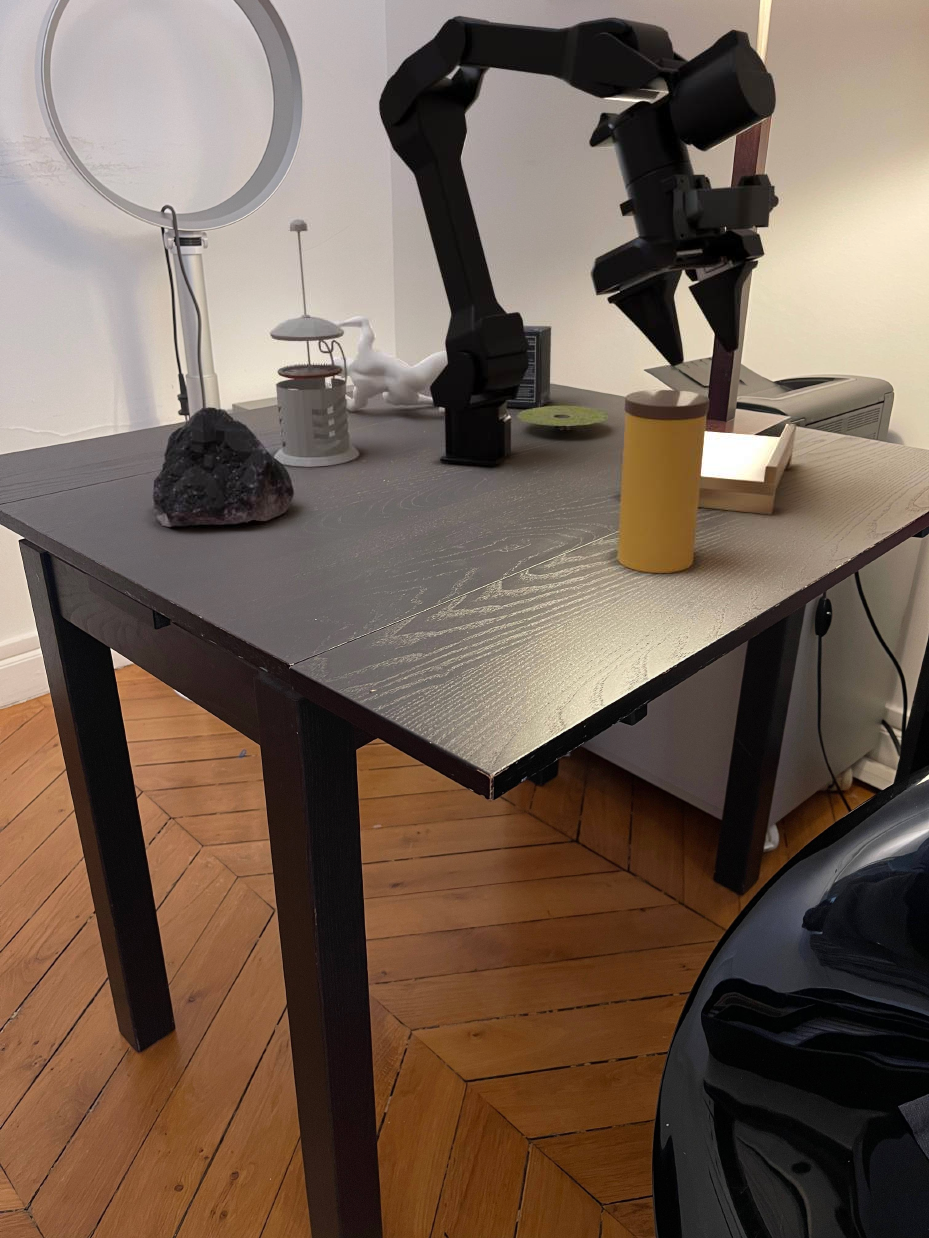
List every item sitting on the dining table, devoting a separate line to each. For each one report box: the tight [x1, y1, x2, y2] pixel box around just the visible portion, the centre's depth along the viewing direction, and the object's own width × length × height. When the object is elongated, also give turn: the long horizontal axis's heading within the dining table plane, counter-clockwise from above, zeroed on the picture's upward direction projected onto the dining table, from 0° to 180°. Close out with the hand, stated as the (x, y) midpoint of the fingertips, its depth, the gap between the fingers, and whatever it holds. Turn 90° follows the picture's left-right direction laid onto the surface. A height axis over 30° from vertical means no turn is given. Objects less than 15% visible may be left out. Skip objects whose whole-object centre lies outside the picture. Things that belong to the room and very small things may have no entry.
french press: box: [269, 218, 360, 468], centre depth 102 cm, size 10×12×25 cm
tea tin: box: [616, 389, 710, 574], centre depth 72 cm, size 6×6×13 cm
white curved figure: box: [325, 315, 448, 414], centre depth 124 cm, size 13×13×18 cm
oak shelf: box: [698, 423, 797, 515], centre depth 94 cm, size 14×18×4 cm
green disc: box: [516, 405, 609, 431], centre depth 116 cm, size 11×11×2 cm
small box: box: [506, 325, 552, 409], centre depth 130 cm, size 11×6×10 cm, turn 71°
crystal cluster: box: [152, 406, 295, 528], centre depth 87 cm, size 13×14×10 cm
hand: (706, 357), depth 81 cm, fingers open, 9 cm apart
